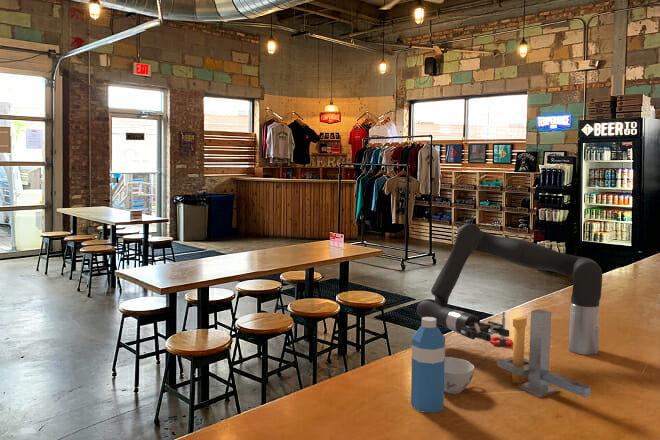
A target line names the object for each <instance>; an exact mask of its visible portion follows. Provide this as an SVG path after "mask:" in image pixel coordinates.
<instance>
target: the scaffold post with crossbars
mask: <svg viewBox="0 0 660 440" xmlns="http://www.w3.org/2000/svg"><path fill="white" fill-rule="evenodd" d="M529 328H530V329H529V332H530V333H529V359H528V358H525V357H524V366H521V367H519V366H516V365H514V364H513V356H509V357H507V358H503V359H498V360H496V366H497V367H500V368H502V369H504V370H507V371H509V372H514V373H516V374H518V375H521V376H523V377H525V376H528V377H527V378H528V380H527V381H528V382H524V383H520V384H518V386H517V388H518V389H519V390H522V391H524V392H527V393H529V394H531V395H533V396H536V397H538V398H543V397H547V396H548V395H553V394H555V393H558V392H559V388H561V389H563V390H565V391H569V392H570V393H573V394H575V395H578V396H581V397H583V398H587V397H591V391H592V390H591V386H589V385H586V384H584V383H581V382H579V381H576V380H573V379H571V378H568V377H565V376H563V375H560V374H557V373H555V372H552V371H550V355H551V354H550V353H551V335H552V334H551V331H552V330H551V329H552V311H548V310H544V309H541V308H538V309H534V310H531V311H530V327H529ZM550 384H551V385H550ZM552 385H553V386H552ZM555 386H556V387H555ZM557 387H558V388H557Z"/></svg>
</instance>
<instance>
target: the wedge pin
mask: <svg viewBox="0 0 660 440" xmlns="http://www.w3.org/2000/svg"><path fill="white" fill-rule="evenodd" d="M527 324H528V318H527V317H525V316H519V317H516V318H513V319H512V328H513V344H512V346H513V348H512V349H513V350H512V357H513V364H514V365H516V366H519V367H521V366H524V358H525V340H526V337H525V336H526V327H527V326H528V325H527ZM511 376H512V379H511V381H512V382H513V383H515V384H523V382H524V376H521V375H518V374H516V373H514V372H512V375H511Z"/></svg>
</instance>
